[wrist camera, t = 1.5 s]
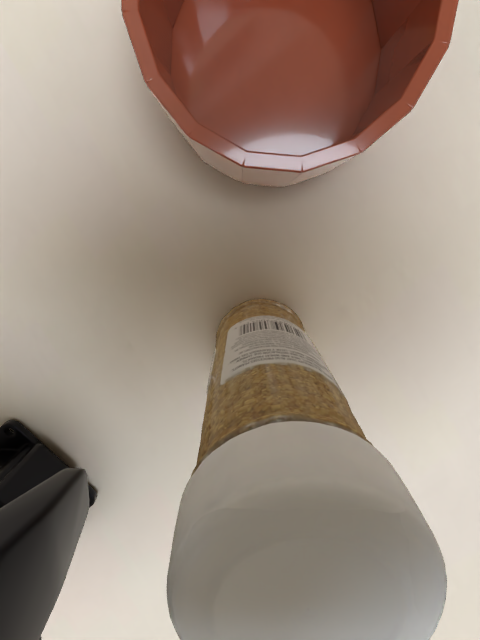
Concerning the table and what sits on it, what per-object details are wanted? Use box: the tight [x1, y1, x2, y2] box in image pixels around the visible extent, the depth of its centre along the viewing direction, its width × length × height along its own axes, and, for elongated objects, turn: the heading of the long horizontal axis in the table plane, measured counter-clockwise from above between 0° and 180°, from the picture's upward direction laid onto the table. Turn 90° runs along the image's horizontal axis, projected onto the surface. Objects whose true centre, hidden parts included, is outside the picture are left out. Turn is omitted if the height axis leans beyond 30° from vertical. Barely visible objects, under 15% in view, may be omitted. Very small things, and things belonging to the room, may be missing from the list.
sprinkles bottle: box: [167, 299, 447, 640], centre depth 12 cm, size 5×5×14 cm
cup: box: [121, 0, 459, 187], centre depth 13 cm, size 9×9×6 cm
